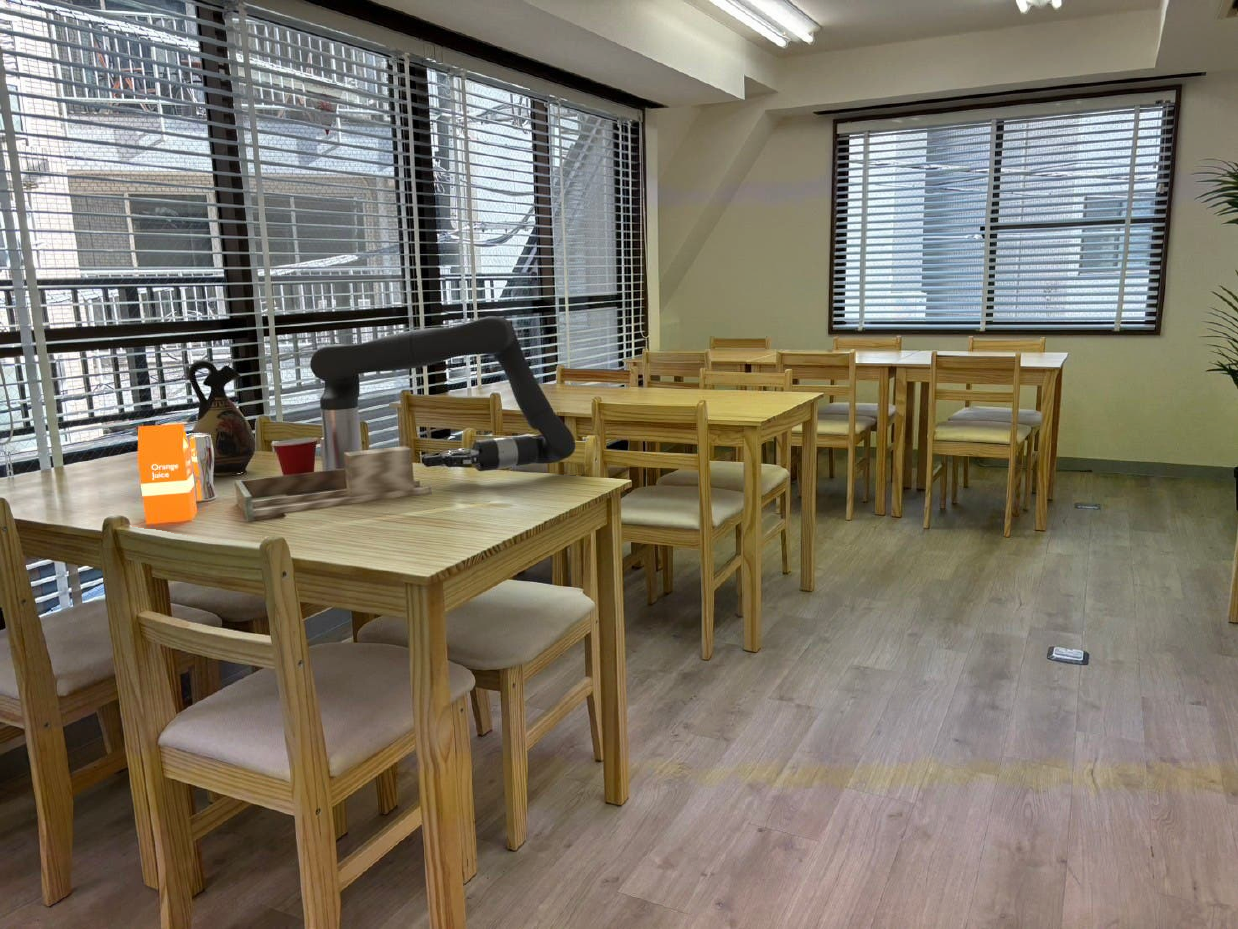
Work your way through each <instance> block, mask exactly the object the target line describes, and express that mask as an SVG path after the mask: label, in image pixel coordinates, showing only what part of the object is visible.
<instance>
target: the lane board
mask: <svg viewBox="0 0 1238 929" xmlns="http://www.w3.org/2000/svg"><path fill="white" fill-rule="evenodd" d="M234 486H235V494H236V502H237V505H238V507H239V509H240V511H241V512H242V514H243V516H244V517H245V519H246V521H247V522H253V521H260V520H268V519H275V518H282V517H283V518H284V517H287V515H286V514H288V513H293V512H301V511H308V510H317V509H323V508H324V509H325V508H331V507H338V506H339V507H340V506H345V505H353V504H361V503H368V502H376V501H383V500H384V501H385V500H389V499H391V500H392V499H399V498H406V497H412V496H420V495H429V494H432V487H430V486H428V487H427V486H426V487H423V486H421V483H420V480H419V479H417V480H414V489H410V490H403V491H395V492H387V493H380V494H372V495H364V496H357V497H348V495H347V483H346V472H345V468H344V469H335V470H326V471H323V470H319V471H314V472H309V473H300V474H292V475H283V474H282V475H278V476H277V475H274V476H268V477H267V476H266V477H259V478H251V479H243V480H242V479H239V480H234ZM331 488H335V489H336V491H328V492H320V493H312V494H304V495H300V494H299V492H307V491H315V490H323V489H331ZM283 494H286V495H287V496H288V497H280V498H273V499H265V500H257V501H252V498H259V497H267V496H275V495H283Z"/></svg>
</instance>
